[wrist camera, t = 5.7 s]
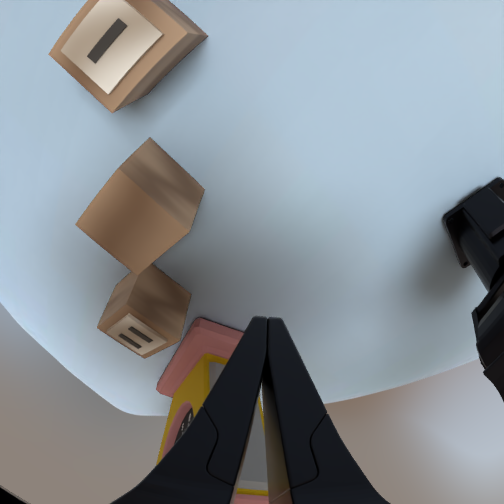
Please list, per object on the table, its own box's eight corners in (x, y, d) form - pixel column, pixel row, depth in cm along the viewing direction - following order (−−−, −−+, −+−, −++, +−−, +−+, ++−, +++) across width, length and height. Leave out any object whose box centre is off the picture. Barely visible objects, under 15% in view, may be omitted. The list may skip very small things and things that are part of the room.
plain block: (205, 188, 20) (189, 231, 16) (158, 229, 22) (137, 275, 18) (150, 136, 18) (118, 168, 14) (108, 185, 20) (75, 224, 16)
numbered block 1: (208, 35, 14) (185, 32, 10) (147, 93, 16) (108, 115, 12) (151, -14, 11) (109, -30, 7) (95, 46, 14) (43, 55, 9)
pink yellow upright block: (207, 295, 26) (168, 566, 9) (300, 328, 28) (309, 564, 11) (153, 388, 38) (127, 531, 21) (214, 406, 41) (201, 543, 24)
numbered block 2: (191, 293, 26) (179, 345, 22) (157, 315, 28) (143, 362, 24) (146, 257, 24) (124, 308, 19) (116, 284, 26) (95, 331, 22)
